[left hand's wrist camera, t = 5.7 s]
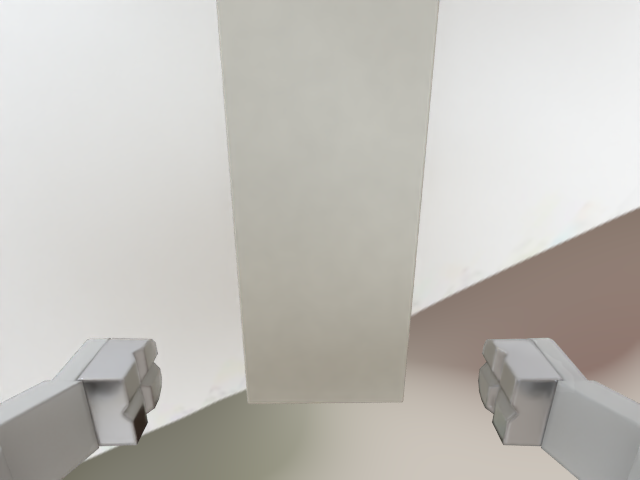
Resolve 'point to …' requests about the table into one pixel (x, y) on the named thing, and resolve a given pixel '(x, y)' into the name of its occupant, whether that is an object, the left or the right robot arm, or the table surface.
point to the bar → (326, 189)
